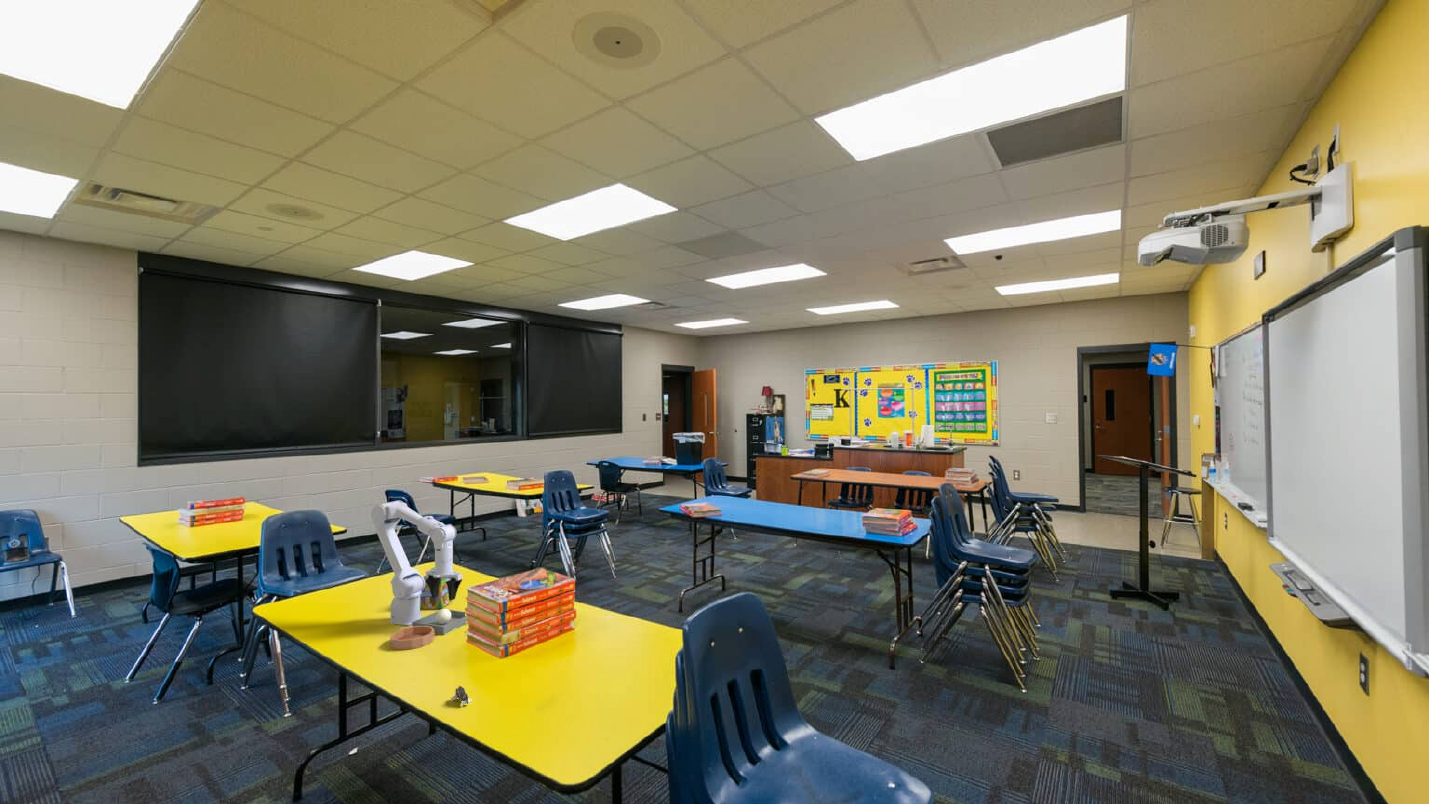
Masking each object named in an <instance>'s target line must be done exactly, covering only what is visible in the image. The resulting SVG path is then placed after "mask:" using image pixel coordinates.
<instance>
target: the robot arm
mask: <svg viewBox="0 0 1429 804" xmlns="http://www.w3.org/2000/svg"><path fill="white" fill-rule="evenodd" d="M370 518H372V522H373V524H374V527H375V532H376V534H377V537H378V538H379V541H380V544H381V546H382V548H383V550H384V552H385V556H386V557H387V559H388V562H389V565H390V566H391V568H392V571H393V573H394V576H393V577H392V579H391V581H390V584H391V587H392V588H391V591H392V594H393V596H394V597H393V598H392V600H391V603H390V620H388V624H393V625H400V626H404V627H405V626H407V627H410V626H412V622H414V621H416V620H418V619H421V618H423V617H424V616H422V615H421V610H420V594H422V590H423V589H424V588H425V582H426V583H427V584H428V586H429V588H430V591H431V594H432V598H436V597H438V596H439V585H440V581H441V578H447V579H451V580H449V581H446V584H447V587H448V593H449V600H450V601H451V600H452V601H454V600H456V596H457V593H458V590H459V587H460V585H461V584H462V581H463V573H460V572H457V571H455V570H454V569H453V566H454V565H453V562H454V561H453V558H454V556H453V555H454V550H453V549H454V548H453V547H454V543H453V542H454V540H455V538H456V537H457V529H456V527H455V526H454V525H452V523H448V524H444V523H443V522H440V521H438V520H436V519H435V518H434V516H432V515H427V516H426V515H425V516H422V515H421V514H420V513H418V512H416V511H415V510H413V509H412V508H410V507H408V503H406V502H403V501H402V500H400V499H399V500H394V501H389V502H385V503H377V504H375V505H374V506H373V508H372V511H371V513H370ZM401 519H402V520H404V521H406V522H409V523H411V524H413V525H415V526H416V529H417V531H419V532H421V533H422V534H424V535H426V536H428V537H430V539H431V541H432V543H433V548H434V567H435V570H430V569H429V570H427V571H425V576H426V577H429V578H428V579H425V580H424V578H423V577H424V576H423V575H421V573H420V572H419V570H418V569H416V568H414V567H411V564H410V561H409V560H408V557H407V555H406V552H405V551H404V549H403V546H402V544H401V542H400V539H399V537H398V534H397V533H396V532H397V531H395V528H396V526H397V525H398V524H399V522H400V521H401Z"/></svg>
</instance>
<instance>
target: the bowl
mask: <svg viewBox="0 0 1429 804" xmlns="http://www.w3.org/2000/svg"><path fill="white" fill-rule="evenodd" d="M434 639H435V634H434V629H433V628H432V627H430V626H413V627H412V626H408V627H405V628H401V629H399V630H397V631H394V632H393V633H392V634H391V635H390V637H389V640H390V641H389V642H390V643H389V644H390V647H391V649H392V650H393V649H394V650H397V651H409V650H415V649H419V648H422V647H425V646H427V645H430V644H431V643H433V641H434Z"/></svg>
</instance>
